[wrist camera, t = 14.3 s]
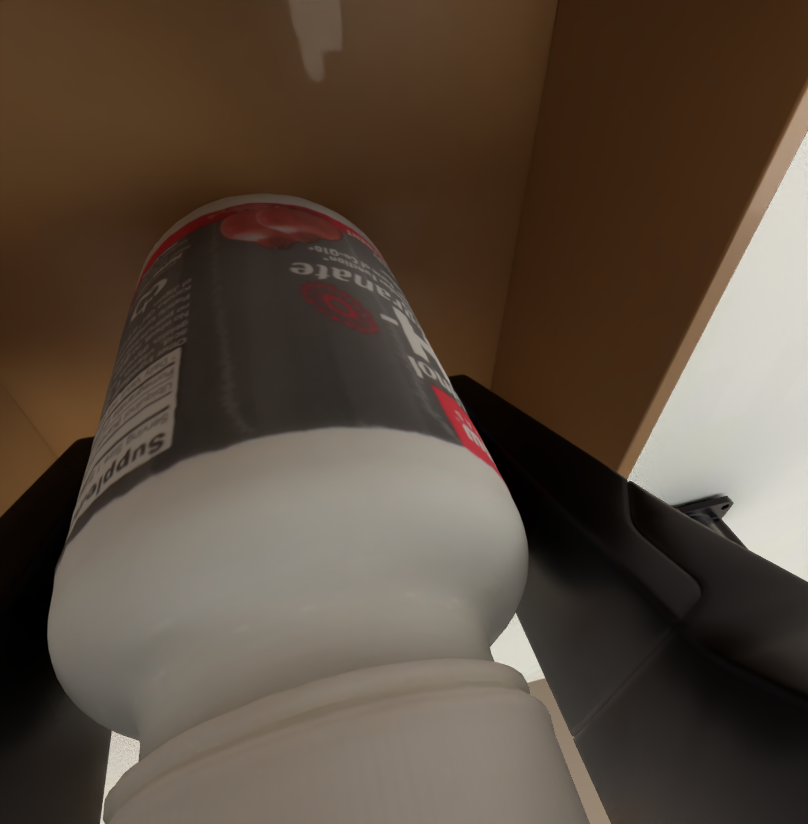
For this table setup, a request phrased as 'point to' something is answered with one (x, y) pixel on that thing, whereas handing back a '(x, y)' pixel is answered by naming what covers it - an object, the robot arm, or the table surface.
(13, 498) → the carton
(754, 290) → the table surface
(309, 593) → the pill bottle
